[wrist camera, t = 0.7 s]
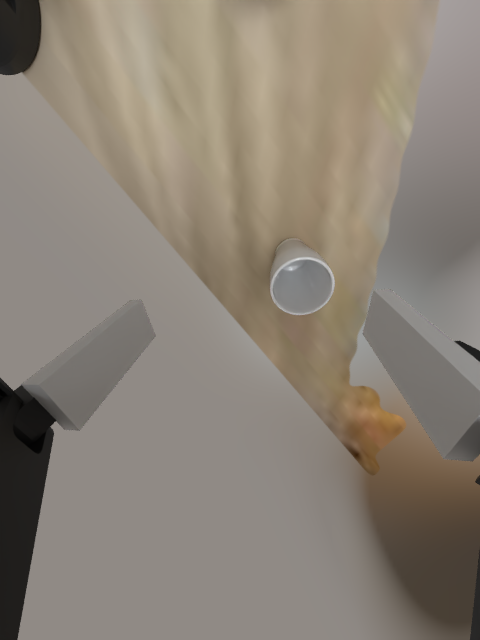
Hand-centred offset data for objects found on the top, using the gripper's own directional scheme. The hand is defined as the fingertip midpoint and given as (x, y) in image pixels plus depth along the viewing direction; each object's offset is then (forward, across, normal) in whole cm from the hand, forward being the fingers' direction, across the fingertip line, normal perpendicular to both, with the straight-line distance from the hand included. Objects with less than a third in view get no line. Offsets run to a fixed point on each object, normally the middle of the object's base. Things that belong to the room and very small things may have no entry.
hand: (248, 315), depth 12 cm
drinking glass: (+26, +4, -3) cm, 26 cm away
